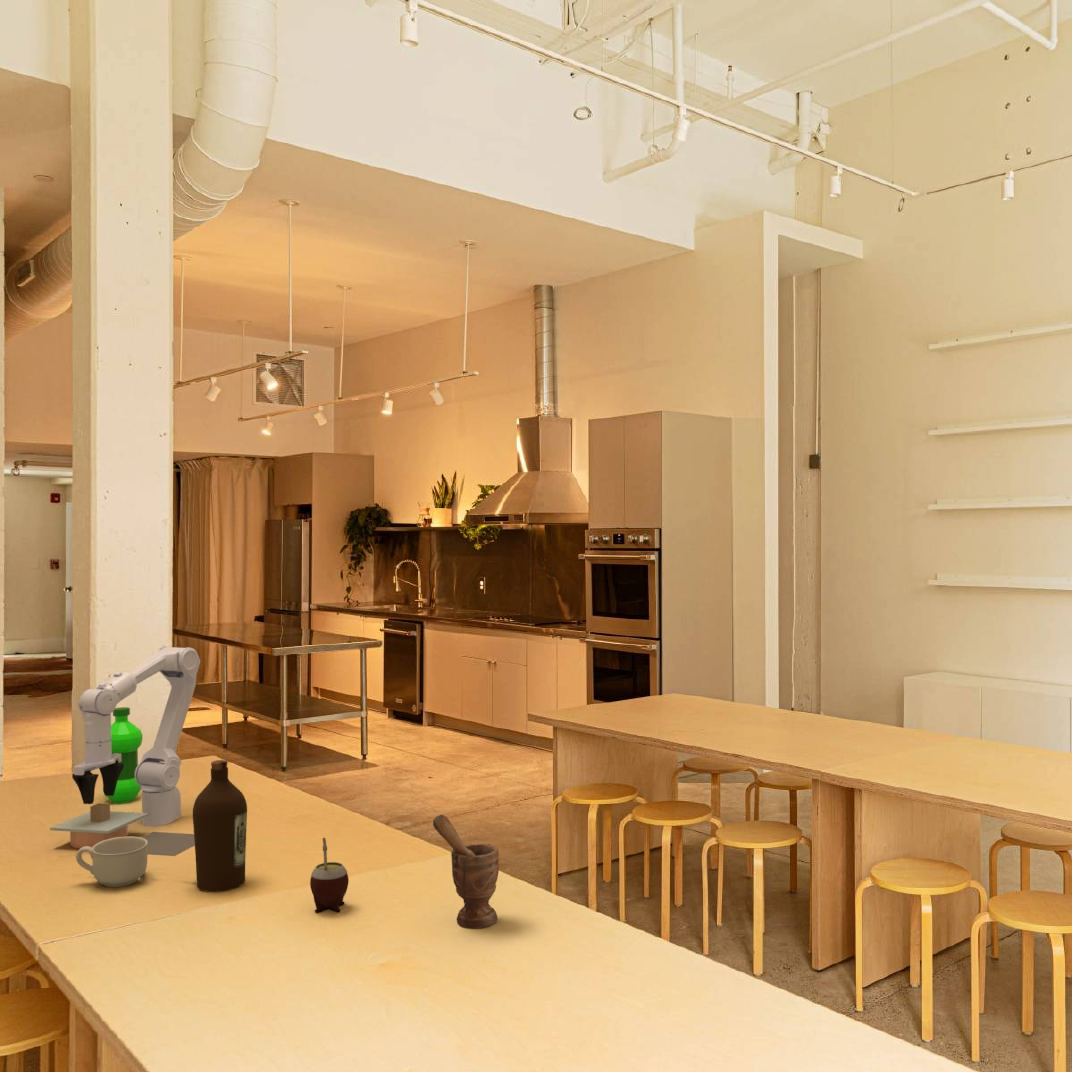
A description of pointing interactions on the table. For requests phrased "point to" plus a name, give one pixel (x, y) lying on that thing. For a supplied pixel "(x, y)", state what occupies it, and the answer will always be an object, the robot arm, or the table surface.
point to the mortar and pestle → (472, 876)
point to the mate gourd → (328, 884)
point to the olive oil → (220, 832)
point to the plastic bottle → (125, 755)
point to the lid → (99, 820)
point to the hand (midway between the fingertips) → (98, 799)
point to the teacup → (116, 860)
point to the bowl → (94, 837)
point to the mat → (168, 843)
